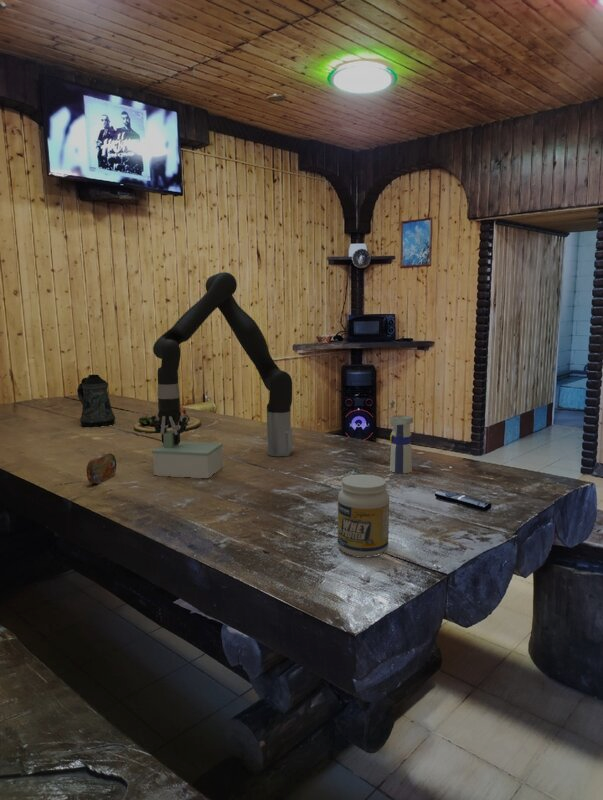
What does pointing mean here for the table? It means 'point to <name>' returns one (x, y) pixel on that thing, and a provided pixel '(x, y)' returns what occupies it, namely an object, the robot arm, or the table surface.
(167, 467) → the parts tub
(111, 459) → the tin
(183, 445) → the lid
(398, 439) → the water bottle
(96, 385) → the beer stein
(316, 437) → the table surface
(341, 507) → the supplement tub
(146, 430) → the wooden plate with food
